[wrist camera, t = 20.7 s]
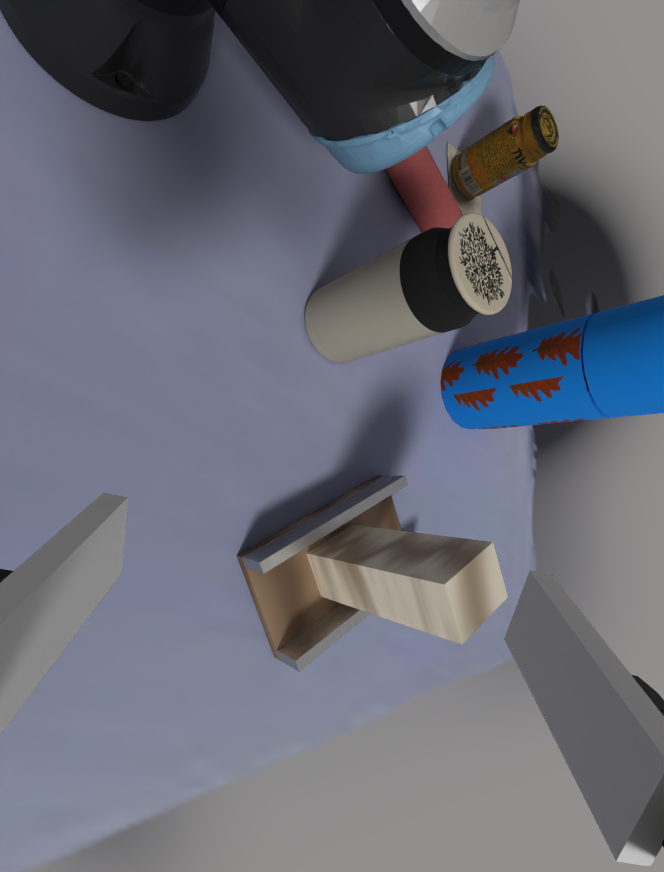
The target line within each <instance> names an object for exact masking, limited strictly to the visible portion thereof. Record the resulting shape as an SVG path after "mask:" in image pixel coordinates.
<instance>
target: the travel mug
mask: <svg viewBox="0 0 664 872" xmlns="http://www.w3.org/2000/svg"><path fill="white" fill-rule="evenodd" d="M511 287H512V270H511V263H510V259H509V255H508V251H507V249H506V246H505V244H504V241H503V239H502V237H501V235H500V234H499V232H498V231H497V229H496V228H495V226H494V225H493V224H492V223H491V222H490V221H489V220H488V219H486V218H485V217H484V216H482V215H480V214H477V213H466V214H464V215H462V216H460V217H459V218H458V219H457V220H456V221H455V223H454V224H453V226H452V227H451V228H440V227H434V228H431V229H428V230H427V231H425V232H423V233H421V234H419V235H417V236H415V237H414V238H412V239H410V240H408V241H406V242H404V243H403V244H401V245H399V246H397V247H395V248H393V249H391V250H390V251H388V252H386V253H384V254H382V255H380V256H378V257H377V258H375V259H373V260H371V261H369V262H367V263H366V264H364V265H362V266H360V267H358V268H356V269H354V270H353V271H351V272H349V273H347V274H345V275H343V276H341V277H340V278H338V279H336V280H334V281H332V282H330V283H329V284H327V285H325V286H323V287H321V288H319V289H318V290H316V291H315V292H314V293H313V294H312V295H311V297H310V298H309V300H308V303H307V306H306V310H305V323H306V329H307V332H308V335H309V338H310V340H311V342H312V343H313V345H314V346H315V348H316V349H317V350H318V351H319V352H320V354H322V355H323V356H324V357H325V358H327V359H329V360H331V361H333V362H337V363H345V362H349V361H353V360H356V359H359V358H362V357H366V356H369V355H372V354H375V353H379V352H382V351H385V350H389V349H392V348H395V347H398V346H402V345H405V344H408V343H412V342H415V341H418V340H421V339H425V338H428V337H431V336H434V335H438V334H441V333H444V332H448V331H451V330H454V329H457V328H461V327H463V326H465V325H467V324H468V323H469V322H470V321H471V320H472V319H473V318H474V317H475V315H476V314H479V313H481V314H485V315H492V314H495V313H498V312H499V311H501V310H502V309H503V308H504V306H505V305H506V303H507V301H508V299H509V296H510V293H511Z"/></svg>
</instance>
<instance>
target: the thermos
mask: <svg viewBox="0 0 664 872" xmlns="http://www.w3.org/2000/svg"><path fill="white" fill-rule="evenodd" d="M441 391H442V398H443V401H444V404H445V407H446V410H447V412H448V413H449V415H450V416H451V418H452V419H453V421H454V422H455V423H457V424H458V425H459V426H461V427H462V428H467V429H492V428H506V427H517V426H527V425H538V424H548V423H559V422H571V421H581V420H592V419H602V418H610V417H624V416H634V415H646V414H657V413H664V295H663V296H659V297H656V298H652V299H648V300H644V301H640V302H637V303H633V304H629V305H625V306H621V307H617V308H614V309H610V310H606V311H602V312H598V313H595V314H591V315H587V316H583V317H579V318H575V319H572V320H568V321H564V322H560V323H557V324H552V325H549V326H545V327H542V328H537V329H533V330H530V331H526V332H522V333H518V334H514V335H511V336H507V337H503V338H499V339H495V340H491V341H488V342H484V343H480V344H477V345H474V346H471V347H468V348H465V349H462V350H459V351H456V352H454V353H453V354H452V355H451V356H449V357H448V358H447V360H446V363H445V365H444V367H443V370H442V377H441Z"/></svg>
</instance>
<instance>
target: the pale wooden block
mask: <svg viewBox="0 0 664 872" xmlns="http://www.w3.org/2000/svg"><path fill="white" fill-rule="evenodd" d="M306 554H307V556H308V559H309V562H310V565H311V568H312V571H313V574H314V577H315V580H316V583H317V586H318V589H319V592H320V594H321V597H324V598H327V599H330V600H333V601H336V602H339V603H342V604H344V605H347V606H350V607H353V608H356V609H359V610H362V611H365V612H368V613H371V614H374V615H377V616H380V617H383V618H386V619H388V620H391V621H394V622H397V623H400V624H403V625H406V626H409V627H412V628H415V629H418V630H421V631H424V632H427V633H430V634H432V635H435V636H438V637H441V638H444V639H447V640H450V641H453V642H456V643H459V644H463V643H464V642H465V641H466V640H467V639H468V638H469V637H470V636H471V635H472V634H473V633H474V632H475V631H476V630H477V629H478V628H479V627H480V625H481V624H482V623H483V622H484V621H485V620H486V619H487V618H488V617H489V616H490V615H491V614H492V613H493V612H494V611H495V610H496V609H497V608H498V607H499V606H500V605H501V604H502V602H503V601H504V600H505V599H506V598H507V597H508V596H507V592H506V588H505V585H504V581H503V578H502V574H501V570H500V567H499V563H498V559H497V556H496V552H495V548H494V545H493V542H487V541H479V540H471V539H463V538H455V537H447V536H439V535H431V534H423V533H415V532H407V531H399V530H391V529H383V528H375V527H367V526H359V525H351V526H349V527H348V528H346V529H345V530H343V531H341V532H340V533H338V534H337V535H335V536H333V537H332V538H330V539H329V540H327V541H325V542H324V543H322V544H321V545H319V546H317V547H316V548H314V549H313V550H311V551H309V552H308V553H306Z"/></svg>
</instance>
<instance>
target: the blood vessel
mask: <svg viewBox="0 0 664 872" xmlns="http://www.w3.org/2000/svg"><path fill="white" fill-rule="evenodd" d="M385 170H386V171H387V173H388V175H389V177H390V178H391V180H392V182H393V183H394V185H395V187H396V189H397V190H398V192H399V194H400V196H401V197H402V199H403V201H404V202H405V204H406V206H407V208H408V209H409V211H410V213H411V215H412V216H413V218H414V220H415V222H416V223H417V225H418V227H419V228H420V230H421V232H422V233H423V232H425V231H427V230H428V229H431V228H434V227H440V228H451V227H452V226H453V224H454V223H455V221H456V220H457V219H458V218H459V217H460V216H462V215H463V214H462V212H461V210H460V208H459V207H458V205H457V203H456V201H455V199H454V197H453V195H452V193H451V191H450V190H449V188H448V186H447V184H446V182H445V180H444V178H443V176H442V175H441V173H440V171H439V169H438V167H437V165H436V163H435V161H434V159H433V158H432V156H431V154H430V152H429V150H428V148H427V146H426V147H424V148H423V149H421V150H420V151H418V152H417V153H415V154H414V155H412V156H410V157H409V158H407V159H405V160H403V161H402V162H400V163H398V164H396V165H394V166H391V167H389V168H387V169H385Z"/></svg>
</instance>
